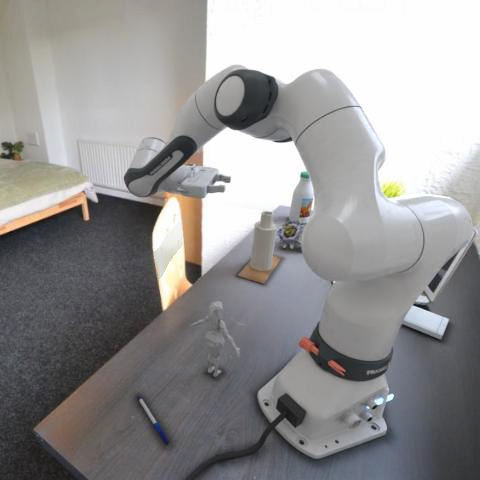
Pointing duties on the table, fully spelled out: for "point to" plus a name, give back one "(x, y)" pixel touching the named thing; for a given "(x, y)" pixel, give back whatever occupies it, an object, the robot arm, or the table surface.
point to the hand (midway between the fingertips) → (228, 184)
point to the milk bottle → (302, 199)
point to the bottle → (263, 242)
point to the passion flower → (290, 233)
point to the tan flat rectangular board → (258, 272)
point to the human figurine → (216, 335)
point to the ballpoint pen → (153, 421)
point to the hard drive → (426, 322)
